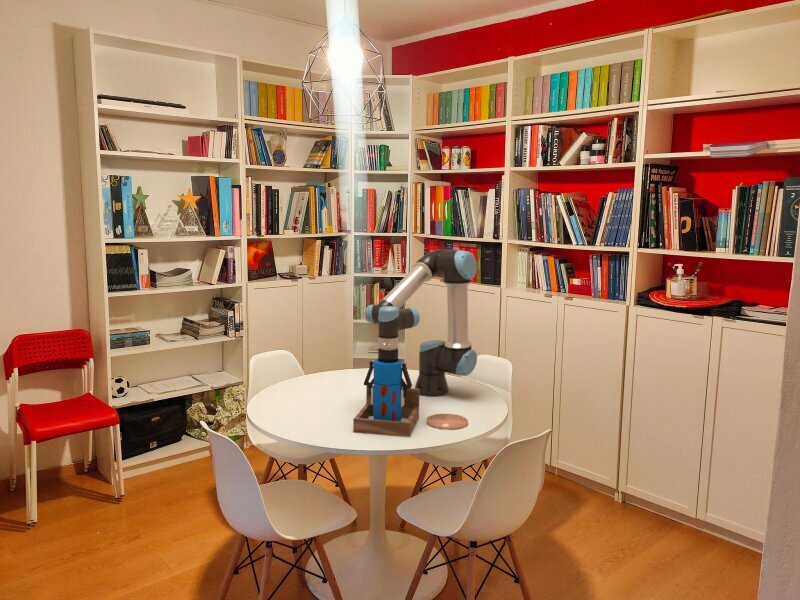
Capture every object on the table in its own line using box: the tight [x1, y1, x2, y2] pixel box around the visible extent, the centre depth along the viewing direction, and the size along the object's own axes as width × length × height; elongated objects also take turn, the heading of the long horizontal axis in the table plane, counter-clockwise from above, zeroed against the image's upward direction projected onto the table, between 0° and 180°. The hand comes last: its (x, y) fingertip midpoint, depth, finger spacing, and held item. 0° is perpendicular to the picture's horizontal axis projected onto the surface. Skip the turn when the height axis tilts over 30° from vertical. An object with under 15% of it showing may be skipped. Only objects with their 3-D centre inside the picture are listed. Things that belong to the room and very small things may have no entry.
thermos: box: [372, 358, 403, 422], centre depth 243 cm, size 11×11×25 cm
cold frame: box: [352, 385, 420, 438], centre depth 244 cm, size 21×21×12 cm
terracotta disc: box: [426, 413, 469, 430], centre depth 248 cm, size 16×16×1 cm
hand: (387, 404), depth 244 cm, fingers closed on thermos, 11 cm apart
